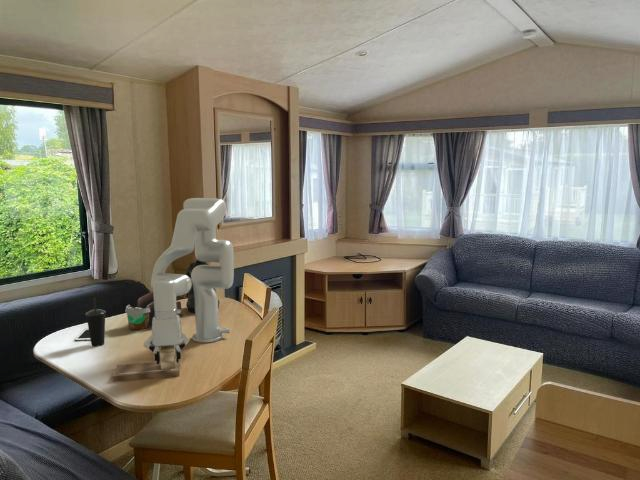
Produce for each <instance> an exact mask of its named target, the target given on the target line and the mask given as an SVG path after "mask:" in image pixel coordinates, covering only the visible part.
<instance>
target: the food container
mask: <svg viewBox="0 0 640 480" xmlns="http://www.w3.org/2000/svg"><path fill="white" fill-rule="evenodd" d="M124 312H125V313H126V317H127V321H128V322H127V323H128V329H129V330H130V331H134V332H136V331H138V332H139V331H144V330H148V329H150V328H149V312H150V309H149V307H148V308H145V309H144V308H141V307H137V306H131V305H130V304H128V305H126V307H125V310H124Z"/></svg>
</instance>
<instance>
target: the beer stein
mask: <svg viewBox="0 0 640 480" xmlns="http://www.w3.org/2000/svg"><path fill="white" fill-rule="evenodd" d="M199 265H209V264H208V262H202V261H199V260H197V259H196V260H195V262H191V263H190V264H189V267H188V268H187V270H186V272H185V275H187V276H188V277H189V278H190V279H191V273H192V270H193V269H194V268H195V267H196V266H199ZM191 282H192V279H191ZM213 289H214V291H215V292H216V293H217V291H216V289H217V288H213ZM217 298H218V308H220V304H221V303H220V300H219V297H218V296H217ZM185 306H186V308H187V309H186V310H187V311H188V313H191V314H194V315H195V298H194V288H193V284H192V286H191V289H190V290H189V292H188V296H187V301H186V305H185Z"/></svg>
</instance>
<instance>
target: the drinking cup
mask: <svg viewBox="0 0 640 480" xmlns="http://www.w3.org/2000/svg"><path fill="white" fill-rule="evenodd" d="M93 307H94V308H93V309H90V310H89V311H87V312H85V313H84V314H85V316H86V320H87V321H86V322H87V329H88V328H89V333H90V339H91V341H90V343H91V346H92V347H94V348H95V347H102V346H103V345H105V334H106V333H105V331H106V330H105V329H106V314H107V312H106V311H107V310H103V309H101V308H100V309H99V308H97V300H96V296H95V297H93Z"/></svg>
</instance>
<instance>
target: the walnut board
mask: <svg viewBox="0 0 640 480" xmlns="http://www.w3.org/2000/svg"><path fill="white" fill-rule="evenodd" d="M115 367H116V368H115V370H114V371H113V374H112V382H113V383H116V382H117V383H118V382H125V381H126V382H127V381H137V380H140V381H141V380H149V379H159V378H160V379H161V378H171V377H172V378H173V377H180V374H181V359H179V363H177V361H176V359H175V368H168V369H161V360H160V362H159V364H157V361H150V362H149V361H148V362H136V363H124V364H123V363H122V364H117V365H116V366H115Z"/></svg>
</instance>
